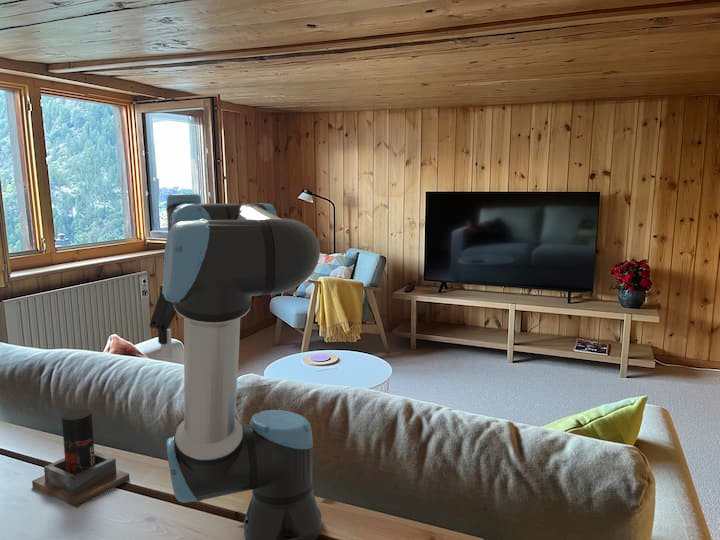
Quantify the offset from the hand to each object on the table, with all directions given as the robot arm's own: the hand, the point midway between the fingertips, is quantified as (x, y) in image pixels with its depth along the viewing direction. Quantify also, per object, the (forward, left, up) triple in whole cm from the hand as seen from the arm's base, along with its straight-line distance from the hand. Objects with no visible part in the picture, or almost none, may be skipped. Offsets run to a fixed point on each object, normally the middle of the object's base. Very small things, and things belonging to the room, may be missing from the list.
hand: (189, 349), depth 130 cm
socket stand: (+15, +20, -29) cm, 38 cm away
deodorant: (+15, +20, -27) cm, 37 cm away
